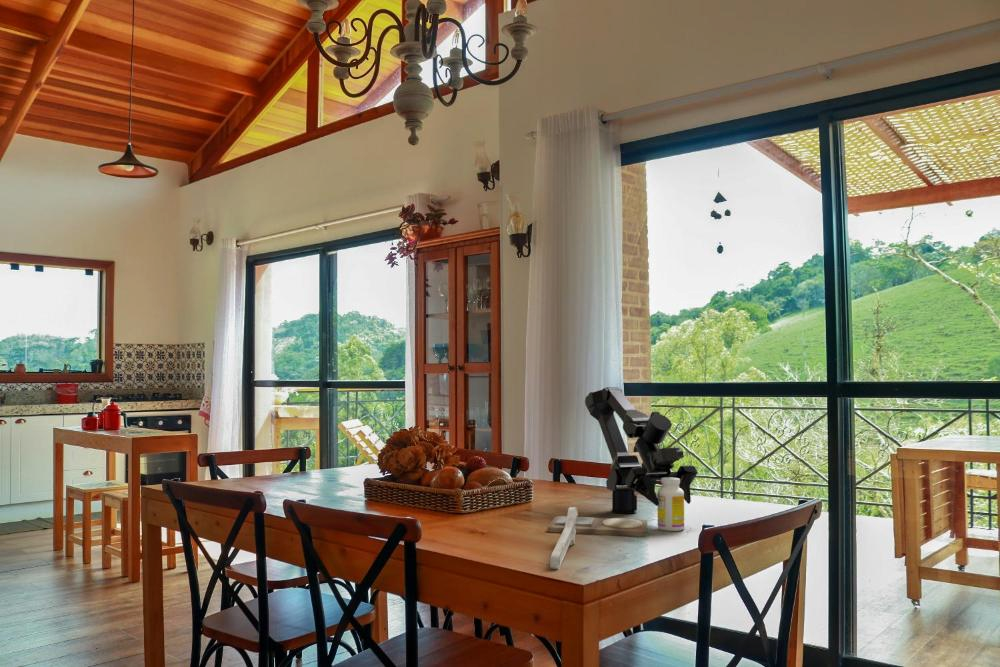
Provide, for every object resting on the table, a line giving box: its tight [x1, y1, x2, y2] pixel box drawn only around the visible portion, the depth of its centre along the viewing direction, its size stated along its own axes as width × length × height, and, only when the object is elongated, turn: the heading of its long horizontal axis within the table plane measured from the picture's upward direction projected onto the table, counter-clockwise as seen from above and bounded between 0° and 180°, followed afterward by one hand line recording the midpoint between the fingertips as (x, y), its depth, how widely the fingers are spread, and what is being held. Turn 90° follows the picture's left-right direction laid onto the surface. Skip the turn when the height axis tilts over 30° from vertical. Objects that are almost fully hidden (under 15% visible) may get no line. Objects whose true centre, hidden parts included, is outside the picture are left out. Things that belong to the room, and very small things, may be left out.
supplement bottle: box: [656, 477, 685, 532], centre depth 212 cm, size 7×7×13 cm
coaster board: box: [547, 515, 648, 537], centre depth 212 cm, size 24×15×2 cm, turn 79°
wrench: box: [549, 506, 579, 570], centre depth 184 cm, size 8×2×30 cm
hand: (673, 503), depth 210 cm, fingers open, 9 cm apart
